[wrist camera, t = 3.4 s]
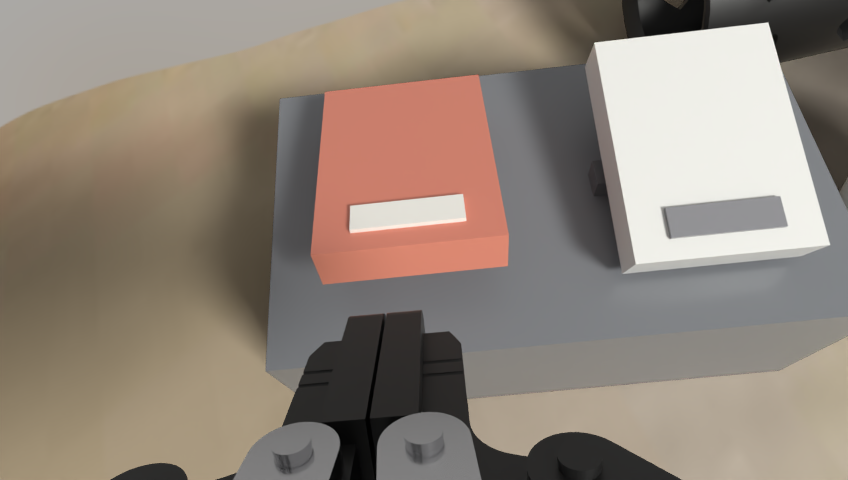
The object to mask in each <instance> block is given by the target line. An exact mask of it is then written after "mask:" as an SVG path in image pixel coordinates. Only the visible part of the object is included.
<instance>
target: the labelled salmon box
mask: <svg viewBox="0 0 848 480" xmlns="http://www.w3.org/2000/svg"><path fill="white" fill-rule="evenodd" d="M508 248H509V233H508V227H507V222H506V217H505V212H504V206H503V201H502V196H501V190H500V185H499V180H498V175H497V169H496V164H495V159H494V154H493V148H492V143H491V138H490V132H489V127H488V122H487V117H486V111H485V106H484V101H483V96H482V90H481V85H480V80H479V75H469V76H461V77H452V78H443V79H434V80H426V81H417V82H408V83H399V84H391V85H382V86H373V87H364V88H356V89H347V90H338V91H329V92H325V98H324V109H323V120H322V132H321V143H320V154H319V165H318V177H317V188H316V199H315V210H314V221H313V233H312V244H311V257H312V260H313V262H314V265H315V267H316V269H317V272H318V274H319V276H320V279H321V281H322V284H323V285H324V284H334V283H344V282H354V281H364V280H374V279H384V278H394V277H404V276H414V275H424V274H434V273H444V272H454V271H464V270H474V269H484V268H494V267H504V266H508Z"/></svg>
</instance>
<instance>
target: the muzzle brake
mask: <svg viewBox="0 0 848 480" xmlns="http://www.w3.org/2000/svg"><path fill="white" fill-rule="evenodd" d="M622 7H623V15H624V22H625V27H626V31H627V36H628V39H630V38H639V37H647V36H656V35H665V34H673V33H682V32H690V31H699V30H708V29H716V28H725V27H734V26H742V25H751V24H760V23H769V27H770V30H771V34H772V38H773V41H774V45H775V48H776V52H777V56H778V59H779V63H781V62H786V61H790V60H794V59H799V58H803V57H807V56H812V55H816V54H821V53H825V52H829V51H834V50H838V49H842V48H847V47H848V0H684V1H683V3H682V4H681V5H680V6H679V8H676V7H674V6H672V5H670V4H668V3H667V2H665V1H664V0H622Z"/></svg>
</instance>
